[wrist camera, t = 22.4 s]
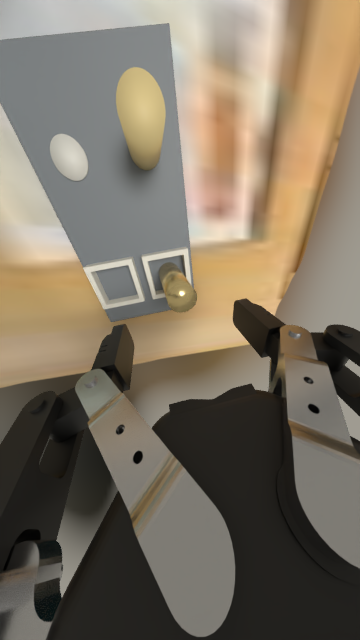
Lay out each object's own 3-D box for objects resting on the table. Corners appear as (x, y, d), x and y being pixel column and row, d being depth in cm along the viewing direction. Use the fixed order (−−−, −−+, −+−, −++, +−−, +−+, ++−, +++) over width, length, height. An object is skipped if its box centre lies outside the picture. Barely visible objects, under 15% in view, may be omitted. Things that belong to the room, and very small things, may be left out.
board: (112, 317, 25) (100, 348, 19) (-11, 61, 11) (-198, -124, 5) (193, 300, 26) (206, 325, 20) (167, 43, 12) (184, -138, 6)
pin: (162, 286, 22) (172, 316, 16) (155, 266, 20) (163, 291, 14) (182, 279, 22) (199, 306, 16) (176, 259, 20) (193, 280, 14)
